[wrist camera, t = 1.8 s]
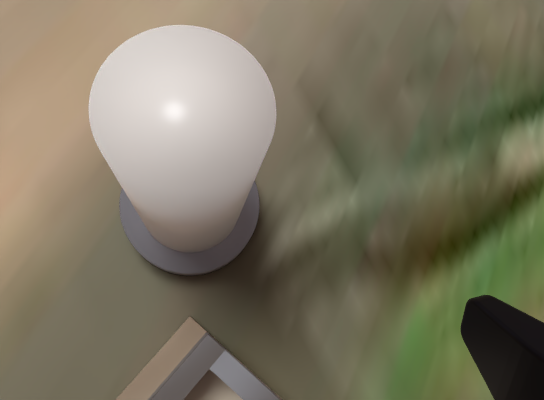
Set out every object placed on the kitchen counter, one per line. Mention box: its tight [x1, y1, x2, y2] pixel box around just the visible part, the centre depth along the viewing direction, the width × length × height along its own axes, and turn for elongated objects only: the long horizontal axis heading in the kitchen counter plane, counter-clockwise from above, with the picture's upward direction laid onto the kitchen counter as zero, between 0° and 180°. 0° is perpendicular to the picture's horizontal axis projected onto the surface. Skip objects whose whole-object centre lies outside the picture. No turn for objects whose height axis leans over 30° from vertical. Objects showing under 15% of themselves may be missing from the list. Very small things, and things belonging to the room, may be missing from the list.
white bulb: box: [89, 25, 276, 276], centre depth 16 cm, size 6×6×11 cm
